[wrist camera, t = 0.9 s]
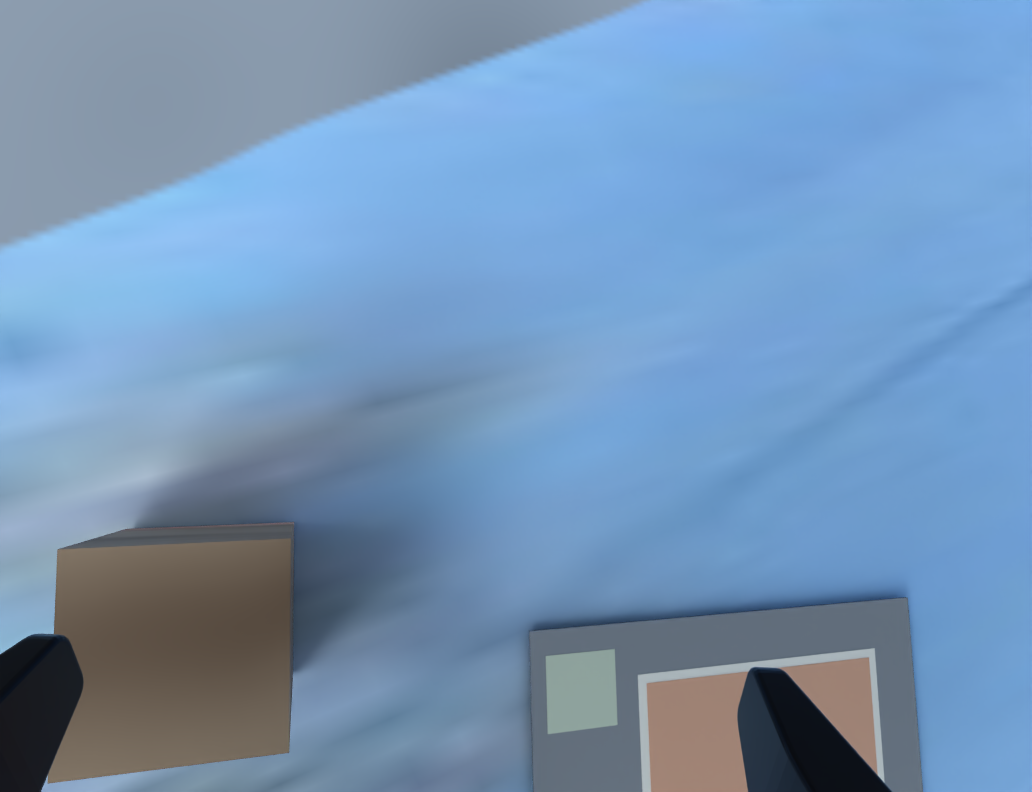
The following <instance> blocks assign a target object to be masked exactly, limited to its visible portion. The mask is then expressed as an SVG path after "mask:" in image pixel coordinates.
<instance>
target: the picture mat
mask: <svg viewBox="0 0 1032 792" xmlns="http://www.w3.org/2000/svg"><path fill="white" fill-rule="evenodd" d="M529 644H530V684H531V724H532V764H533V792H748V788H747V782H746V775H745V769H744V762H743V756H742V749H741V743H740V736H739V730H738V721H737V712H738V706H739V702H740V698H741V695H742V691H743V688H744V684H745V681H746V677H747V674H748V672H749V670H750V669H751V668H753V667H769V668H779V669H782V670H783V671H785V672H786V673H787V674H788V675H789V676H790V677H791V678H792V679H793V681H794V682H795V683H796V684H797V685H798V686H799V687H800V688H801V690H802V691H803V692H804V693H805V694H806V695H807V696H808V697H809V699H810V700H811V701H812V702H813V703H814V704H815V705H816V706H817V708H818V709H819V710H820V711H821V712H822V713H823V714H824V715H825V717H826V718H827V719H828V720H829V721H830V722H831V723H832V724H833V726H834V727H835V728H836V729H837V730H838V731H839V732H840V733H841V735H842V736H843V737H844V738H845V739H846V740H847V741H848V742H849V744H850V745H851V746H852V747H853V748H854V749H855V750H856V751H857V753H858V754H859V755H860V756H861V757H862V758H863V759H864V760H865V762H866V763H867V764H868V765H869V766H870V767H871V768H872V769H873V771H874V772H875V773H876V774H877V775H878V776H879V777H880V778H881V780H882V781H883V782H884V783H885V784H886V785H887V786H888V787H889V789H890V790H891V791H892V792H923V786H922V774H921V761H920V749H919V736H918V724H917V711H916V698H915V686H914V673H913V661H912V648H911V635H910V623H909V610H908V598H906V597H903V598H892V599H881V600H870V601H859V602H847V603H836V604H825V605H814V606H803V607H792V608H780V609H769V610H758V611H747V612H736V613H724V614H713V615H702V616H691V617H680V618H669V619H657V620H646V621H635V622H624V623H613V624H601V625H590V626H579V627H568V628H557V629H546V630H534V631H529Z"/></svg>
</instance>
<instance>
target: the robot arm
mask: <svg viewBox="0 0 1032 792" xmlns="http://www.w3.org/2000/svg"><path fill="white" fill-rule="evenodd" d="M83 684H84V680H83V673H82V671H81V668H80V666H79V663H78V660H77V658H76V655H75V653H74V650H73V647H72V645H71V642H70V641H69V639H68V638H67V637H65V636H64V635H58V634H34V635H31V636H28V637H26V638H25V639H23V640H21V641H20V642H18V643H17V644H15V645H14V646H12V647H11V648H9V649H8V650H6V651H5V652H3V653H2V654H0V792H41V790H42V787H43V785H44V783H45V780H46V778H47V775H48V773H49V771H50V768H51V766H52V764H53V761H54V759H55V756H56V754H57V752H58V749H59V747H60V744H61V742H62V740H63V737H64V735H65V733H66V730H67V728H68V725H69V723H70V721H71V718H72V716H73V713H74V711H75V709H76V706H77V704H78V702H79V699H80V697H81V694H82V690H83ZM737 721H738V730H739V736H740V743H741V749H742V756H743V762H744V769H745V775H746V782H747V788H748V792H892V791H891V790H890V789H889V787H888V786H887V785H886V784H885V783H884V782H883V781H882V780H881V778H880V777H879V776H878V775H877V774H876V773H875V772H874V771H873V769H872V768H871V767H870V766H869V765H868V764H867V763H866V762H865V760H864V759H863V758H862V757H861V756H860V755H859V754H858V753H857V751H856V750H855V749H854V748H853V747H852V746H851V745H850V744H849V742H848V741H847V740H846V739H845V738H844V737H843V736H842V735H841V733H840V732H839V731H838V730H837V729H836V728H835V727H834V726H833V724H832V723H831V722H830V721H829V720H828V719H827V718H826V717H825V715H824V714H823V713H822V712H821V711H820V710H819V709H818V708H817V706H816V705H815V704H814V703H813V702H812V701H811V700H810V699H809V697H808V696H807V695H806V694H805V693H804V692H803V691H802V690H801V688H800V687H799V686H798V685H797V684H796V683H795V682H794V681H793V679H792V678H791V677H790V676H789V675H788V674H787V673H786V672H785V671H783V670H782V669H779V668H769V667H753V668H751V669H750V670H749V672H748V674H747V677H746V681H745V684H744V688H743V691H742V695H741V698H740V702H739V706H738V712H737Z"/></svg>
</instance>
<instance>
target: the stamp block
mask: <svg viewBox="0 0 1032 792" xmlns="http://www.w3.org/2000/svg"><path fill="white" fill-rule="evenodd" d="M293 580H294V522H285V523H260V524H236V525H212V526H187V527H163V528H138V529H125V530H121V531H118V532H115V533H111V534H108V535H105V536H101V537H98V538H94V539H91V540H88V541H84V542H81V543H78V544H74V545H71V546H67V547H64V548H61V549H58V550H57V574H56V597H55V621H54V634H58V635H64V636H65V637H67V638H68V639H69V641H70V642H71V645H72V647H73V650H74V653H75V655H76V658H77V660H78V663H79V666H80V668H81V671H82V673H83V680H84V684H83V690H82V694H81V697H80V699H79V702H78V704H77V706H76V709H75V711H74V713H73V716H72V718H71V721H70V723H69V725H68V728H67V730H66V733H65V735H64V737H63V740H62V742H61V744H60V747H59V749H58V752H57V754H56V756H55V759H54V761H53V764H52V766H51V768H50V771H49V773H48V783H55V782H63V781H71V780H79V779H86V778H94V777H102V776H110V775H118V774H126V773H134V772H141V771H149V770H157V769H165V768H173V767H181V766H189V765H196V764H204V763H212V762H220V761H228V760H236V759H244V758H251V757H259V756H267V755H275V754H283V753H289V742H290V722H291V702H292V682H293Z"/></svg>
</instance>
